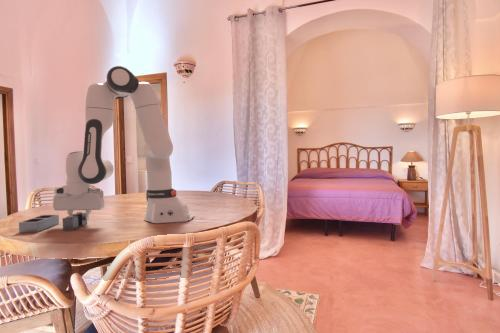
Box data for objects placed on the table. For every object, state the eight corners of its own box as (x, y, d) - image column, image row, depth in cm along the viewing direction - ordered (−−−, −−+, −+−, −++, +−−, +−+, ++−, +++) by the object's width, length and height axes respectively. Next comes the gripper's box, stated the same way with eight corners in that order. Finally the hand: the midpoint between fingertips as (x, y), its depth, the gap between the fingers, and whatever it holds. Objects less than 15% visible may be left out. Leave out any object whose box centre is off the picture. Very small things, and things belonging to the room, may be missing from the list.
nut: (87, 223, 129) (86, 211, 128) (82, 226, 125) (81, 213, 124) (77, 224, 128) (77, 211, 128) (72, 226, 124) (72, 213, 124)
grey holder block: (42, 223, 129) (42, 214, 129) (59, 223, 130) (58, 214, 129) (19, 232, 115) (18, 222, 115) (37, 232, 116) (37, 222, 115)
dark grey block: (78, 228, 122) (77, 214, 121) (73, 230, 118) (72, 217, 117) (68, 228, 121) (68, 215, 121) (62, 230, 117) (62, 217, 117)
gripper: (106, 187, 129) (107, 218, 130) (59, 188, 128) (60, 219, 129) (99, 189, 123) (100, 221, 124) (50, 189, 122) (51, 222, 123)
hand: (79, 220), depth 126 cm, fingers closed on nut, 4 cm apart
